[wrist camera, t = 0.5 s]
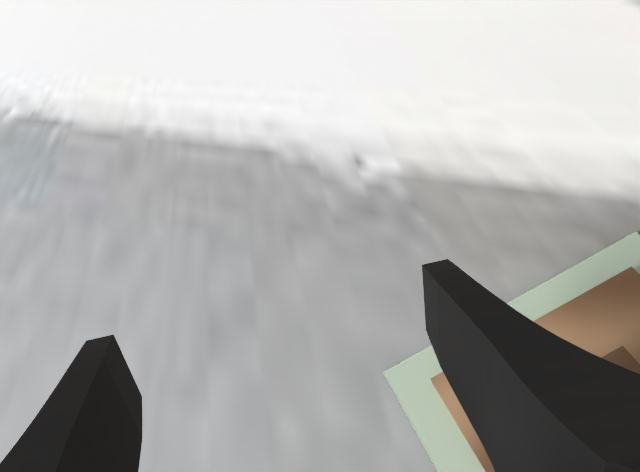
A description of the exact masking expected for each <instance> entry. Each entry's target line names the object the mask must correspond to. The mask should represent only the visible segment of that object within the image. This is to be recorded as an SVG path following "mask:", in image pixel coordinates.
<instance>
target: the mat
mask: <svg viewBox="0 0 640 472" xmlns="http://www.w3.org/2000/svg"><path fill="white" fill-rule="evenodd" d="M631 266H632V267H633V268H634V269H635V270H636V271H637V272H638V273H639V274H640V235H639V234H638V233H637V232H634V233H632V234H630V235H628V236H627V237H625V238H623V239H621V240H619V241H618V242H616V243H614V244H612V245H610V246H609V247H607V248H605V249H603V250H601V251H600V252H598V253H596V254H594V255H592V256H591V257H589V258H587V259H585V260H584V261H582V262H580V263H578V264H576V265H575V266H573V267H571V268H569V269H567V270H566V271H564V272H562V273H560V274H558V275H557V276H555V277H553V278H551V279H549V280H548V281H546V282H544V283H542V284H540V285H539V286H537V287H535V288H533V289H531V290H530V291H528V292H526V293H524V294H523V295H521V296H519V297H517V298H515V299H514V300H512V301H510V302H508V303H507V304H508V305H509V306H511V307H512V308H514V309H515V310H517V311H518V312H519V313H521V314H523V315H524V316H526V317H527V318H529V319H530V320H532V321H535V320H536V319H538V318H540V317H542V316H543V315H545V314H547V313H549V312H551V311H552V310H554V309H556V308H558V307H560V306H561V305H563V304H565V303H567V302H569V301H570V300H572V299H574V298H576V297H578V296H579V295H581V294H583V293H585V292H586V291H588V290H590V289H592V288H594V287H595V286H597V285H599V284H601V283H603V282H604V281H606V280H608V279H610V278H612V277H613V276H615V275H617V274H619V273H621V272H622V271H624V270H626V269H628V268H629V267H631ZM441 372H443V371H442V369H441V367H440V364H439V362H438V359H437V357H436V354H435V352H434V349H433V347H432V345H431V346H429V347H427V348H426V349H424V350H422V351H420V352H418V353H417V354H415V355H413V356H411V357H410V358H408V359H406V360H404V361H402V362H401V363H399V364H397V365H395V366H393V367H392V368H390V369H388V370H386V371H384V372H383V373H384V375H385V377H386V379H387V380H388V382H389V384H390V386H391V388H392V390H393V391H394V393H395V395H396V397H397V399H398V401H399V402H400V404H401V406H402V408H403V410H404V412H405V413H406V415H407V417H408V419H409V421H410V423H411V424H412V426H413V428H414V430H415V432H416V434H417V435H418V437H419V439H420V441H421V443H422V444H423V446H424V448H425V450H426V452H427V454H428V455H429V457H430V459H431V461H432V463H433V465H434V466H435V468H436V470H437V472H485V470H484V469H483V467H482V465H481V464H480V462H479V460H478V459H477V457H476V455H475V454H474V452H473V450H472V449H471V447H470V445H469V444H468V442H467V440H466V439H465V437H464V435H463V434H462V432H461V430H460V429H459V427H458V425H457V424H456V422H455V420H454V419H453V417H452V415H451V414H450V412H449V411H448V409H447V407H446V406H445V404H444V402H443V401H442V399H441V397H440V396H439V394H438V392H437V391H436V389H435V387H434V386H433V384H432V381H431V378H432V377H434V376H436V375H438V374H440V373H441Z"/></svg>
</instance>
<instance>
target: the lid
mask: <svg viewBox="0 0 640 472" xmlns="http://www.w3.org/2000/svg"><path fill="white" fill-rule="evenodd" d="M533 322H535V323H537V324H538V325H540V326H541V327H543V328H545V329H546V330H548V331H550V332H552V333H553V334H555V335H557V336H559V337H560V338H562V339H564V340H566V341H568V342H570V343H572V344H574V345H576V346H578V347H580V348H582V349H584V350H586V351H588V352H590V353H592V354H594V355H596V356H598V357H600V358H603V359H605V360H607V361H610V362H612V363H614V364H617V365H619V366H621V367H624V368H626V369H628V370H631V371H633V372H636V373H639V374H640V274H639V273H638V272H637V271H636V270H635V269H634V268H633V267H632V266H631V267H629V268H628V269H626V270H624V271H622V272H621V273H619V274H617V275H615V276H613V277H612V278H610V279H608V280H606V281H604V282H603V283H601V284H599V285H597V286H595V287H594V288H592V289H590V290H588V291H586V292H585V293H583V294H581V295H579V296H578V297H576V298H574V299H572V300H570V301H569V302H567V303H565V304H563V305H561V306H560V307H558V308H556V309H554V310H552V311H551V312H549V313H547V314H545V315H543V316H542V317H540V318H538V319H536V320H535V321H533ZM431 381H432V384H433V386H434V387H435V389H436V391H437V392H438V394H439V396H440V397H441V399H442V401H443V402H444V404H445V406H446V407H447V409H448V411H449V412H450V414H451V415H452V417H453V419H454V420H455V422H456V424H457V425H458V427H459V429H460V430H461V432H462V434H463V435H464V437H465V439H466V440H467V442H468V444H469V445H470V447H471V449H472V450H473V452H474V454H475V455H476V457H477V459H478V460H479V462H480V464H481V465H482V467H483V469H484V470H485V472H495V471H494V468H493V466H492V463H491V461H490V459H489V457H488V455H487V453H486V451H485V449H484V447H483V445H482V443H481V441H480V439H479V437H478V436H477V434H476V432H475V430H474V428H473V426H472V425H471V423H470V421H469V419H468V417H467V415H466V413H465V412H464V410H463V408H462V406H461V404H460V402H459V401H458V399H457V397H456V395H455V393H454V391H453V389H452V388H451V386H450V384H449V382H448V380H447V378H446V376H445V374H444V373H443V372H441V373H440V374H438V375H436V376H434V377H432V378H431Z"/></svg>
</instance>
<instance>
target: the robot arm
mask: <svg viewBox="0 0 640 472" xmlns="http://www.w3.org/2000/svg"><path fill="white" fill-rule="evenodd" d="M422 270H423V286H424V302H425V318H426V331H427V333H428V336H429V339H430V341H431V344H432V347H433V349H434V352H435V354H436V357H437V359H438V362H439V364H440V367H441V369H442V371H443V373H444V374H445V376H446V378H447V380H448V382H449V384H450V386H451V388H452V389H453V391H454V393H455V395H456V397H457V399H458V401H459V402H460V404H461V406H462V408H463V410H464V412H465V413H466V415H467V417H468V419H469V421H470V423H471V425H472V426H473V428H474V430H475V432H476V434H477V436H478V437H479V439H480V441H481V443H482V445H483V447H484V449H485V451H486V453H487V455H488V457H489V459H490V461H491V463H492V466H493V468H494V471H495V472H640V374H639V373H636V372H633V371H631V370H628V369H626V368H624V367H621V366H619V365H617V364H614V363H612V362H610V361H607V360H605V359H603V358H600V357H598V356H596V355H594V354H592V353H590V352H588V351H586V350H584V349H582V348H580V347H578V346H576V345H574V344H572V343H570V342H568V341H566V340H564V339H562V338H560V337H559V336H557V335H555V334H553V333H552V332H550V331H548V330H546V329H545V328H543V327H541V326H540V325H538V324H537V323H535V322H533V321H532V320H530V319H529V318H527V317H526V316H524V315H523V314H521V313H519V312H518V311H517V310H515V309H514V308H512V307H511V306H509V305H508V304H507V303H505V302H504V301H502V300H501V299H499V298H498V297H497V296H495V295H494V294H492V293H491V292H490V291H488V290H487V289H486V288H484V287H483V286H482V285H480V284H479V283H478V282H476V281H475V280H474V279H473V278H471V277H470V276H469V275H467V274H466V273H465V272H464V271H462V270H461V269H460V268H459V267H457V266H456V265H455V264H453V263H452V262H451V261H449V260H448V259H446V260H442V261H437V262H433V263H429V264H424V265H422ZM141 443H142V396H141V394H140V392H139V389H138V387H137V385H136V383H135V381H134V379H133V376H132V374H131V372H130V370H129V368H128V365H127V363H126V361H125V359H124V357H123V355H122V352H121V350H120V348H119V346H118V344H117V342H116V339H115V337H114V335H110V336H106V337H101V338H97V339H93V340H88V341H86V342H85V344H84V345H83V347H82V348H81V350H80V351H79V353H78V354H77V356H76V357H75V359H74V360H73V362H72V363H71V365H70V366H69V368H68V369H67V371H66V373H65V374H64V376H63V377H62V379H61V380H60V382H59V383H58V385H57V386H56V388H55V389H54V391H53V392H52V394H51V395H50V397H49V398H48V400H47V401H46V403H45V404H44V406H43V407H42V408H41V410H40V411H39V413H38V414H37V416H36V417H35V419H34V420H33V421H32V423H31V424H30V425H29V427H28V428H27V429H26V431H25V432H24V433H23V435H22V436H21V437H20V439H19V440H18V441H17V443H16V444H15V445H14V447H13V448H12V450H11V451H10V452H9V453H8V455H7V456H6V457H5V458H4V460H3V461H2V462H1V463H0V472H138V468H139V460H140V452H141Z"/></svg>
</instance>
